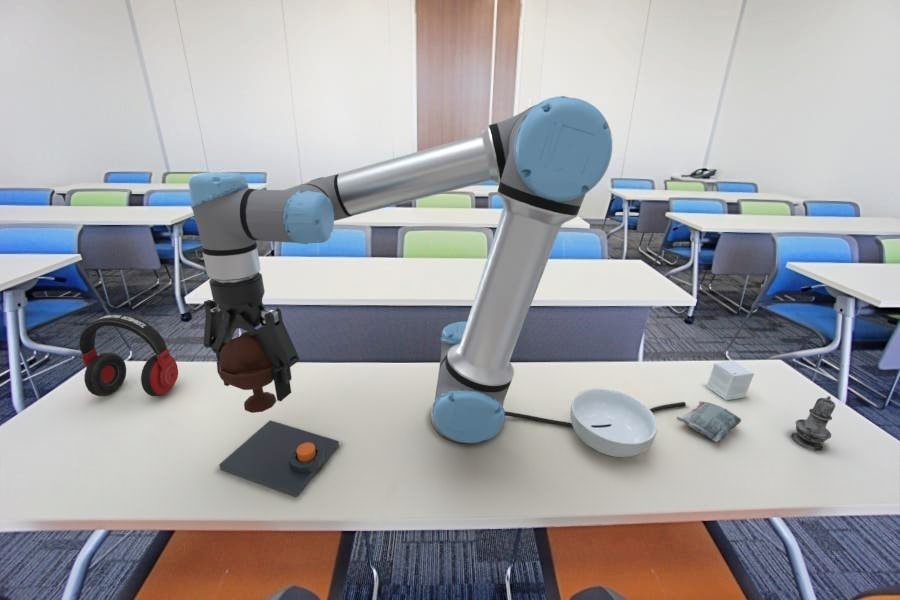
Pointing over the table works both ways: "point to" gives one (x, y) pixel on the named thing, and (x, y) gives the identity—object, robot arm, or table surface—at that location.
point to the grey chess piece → (815, 425)
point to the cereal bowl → (613, 422)
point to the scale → (279, 458)
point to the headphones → (111, 369)
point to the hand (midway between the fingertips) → (257, 389)
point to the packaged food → (710, 420)
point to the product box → (730, 380)
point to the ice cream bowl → (247, 370)
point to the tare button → (306, 452)
